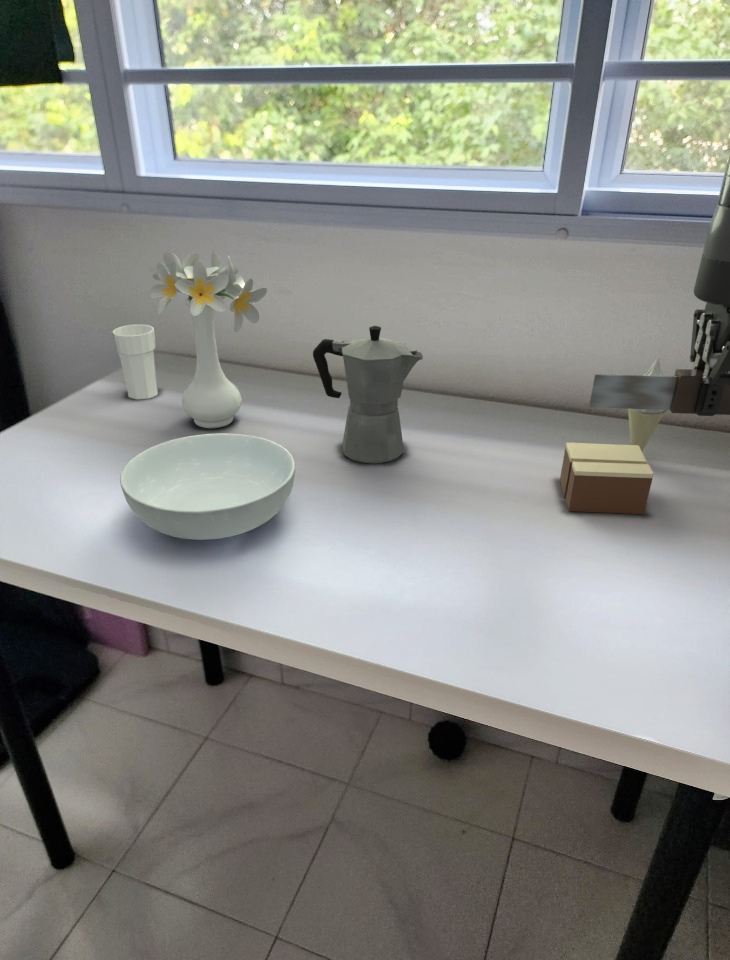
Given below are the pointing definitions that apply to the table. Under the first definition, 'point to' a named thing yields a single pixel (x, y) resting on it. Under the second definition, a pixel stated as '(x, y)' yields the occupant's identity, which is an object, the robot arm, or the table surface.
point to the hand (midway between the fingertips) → (701, 409)
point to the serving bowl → (208, 484)
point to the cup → (137, 359)
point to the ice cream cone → (645, 416)
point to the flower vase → (207, 328)
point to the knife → (653, 392)
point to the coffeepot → (370, 393)
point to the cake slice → (608, 487)
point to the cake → (597, 457)
